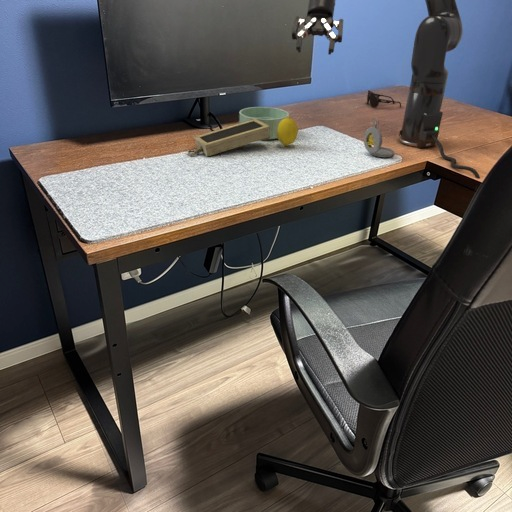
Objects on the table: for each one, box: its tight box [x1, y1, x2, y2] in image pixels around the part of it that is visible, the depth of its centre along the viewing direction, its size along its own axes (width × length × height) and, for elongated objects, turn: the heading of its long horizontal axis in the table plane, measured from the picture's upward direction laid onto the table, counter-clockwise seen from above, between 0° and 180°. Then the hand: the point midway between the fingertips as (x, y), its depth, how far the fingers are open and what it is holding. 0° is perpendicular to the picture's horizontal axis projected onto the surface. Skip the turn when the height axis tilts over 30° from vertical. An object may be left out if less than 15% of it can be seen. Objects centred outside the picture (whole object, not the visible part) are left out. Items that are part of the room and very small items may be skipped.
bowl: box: [238, 106, 290, 141], centre depth 141 cm, size 14×14×6 cm
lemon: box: [277, 116, 299, 147], centre depth 131 cm, size 6×6×8 cm
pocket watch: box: [363, 117, 395, 158], centre depth 127 cm, size 8×8×10 cm
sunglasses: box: [366, 90, 402, 109], centre depth 178 cm, size 11×12×5 cm
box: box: [187, 119, 270, 157], centre depth 128 cm, size 8×22×5 cm, turn 119°
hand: (314, 51), depth 136 cm, fingers open, 8 cm apart
